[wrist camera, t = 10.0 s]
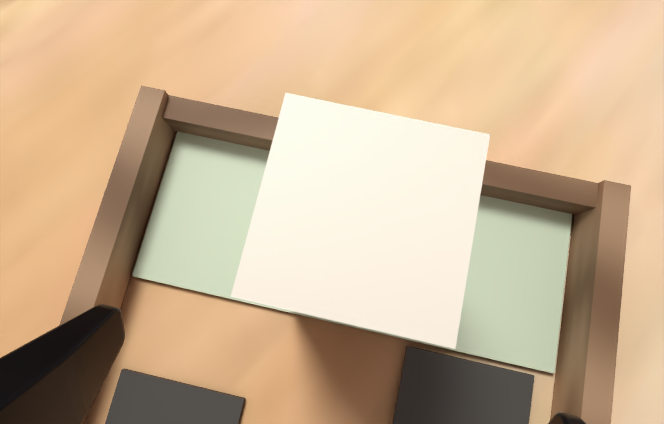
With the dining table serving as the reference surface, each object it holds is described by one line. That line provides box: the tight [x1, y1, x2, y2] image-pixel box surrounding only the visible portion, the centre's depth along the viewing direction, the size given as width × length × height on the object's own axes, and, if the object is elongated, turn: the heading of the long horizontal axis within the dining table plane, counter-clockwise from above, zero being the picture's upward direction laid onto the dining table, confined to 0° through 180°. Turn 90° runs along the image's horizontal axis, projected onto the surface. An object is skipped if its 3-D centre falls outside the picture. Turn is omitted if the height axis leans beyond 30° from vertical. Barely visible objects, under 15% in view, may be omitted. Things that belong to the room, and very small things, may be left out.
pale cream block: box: [231, 93, 490, 349], centre depth 16 cm, size 5×5×12 cm
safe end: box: [132, 131, 572, 373], centre depth 22 cm, size 8×21×1 cm, turn 77°
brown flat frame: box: [59, 86, 631, 424], centre depth 19 cm, size 26×24×2 cm
